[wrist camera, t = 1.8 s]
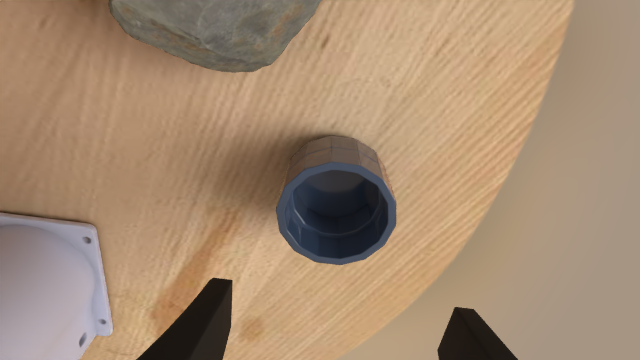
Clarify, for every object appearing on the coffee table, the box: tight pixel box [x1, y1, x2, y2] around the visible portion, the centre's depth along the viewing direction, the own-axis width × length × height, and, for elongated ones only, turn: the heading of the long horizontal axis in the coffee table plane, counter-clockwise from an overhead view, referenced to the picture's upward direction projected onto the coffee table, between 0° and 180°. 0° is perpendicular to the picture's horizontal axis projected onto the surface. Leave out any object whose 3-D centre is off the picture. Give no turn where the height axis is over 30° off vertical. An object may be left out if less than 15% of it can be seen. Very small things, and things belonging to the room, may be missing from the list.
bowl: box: [276, 136, 396, 265], centre depth 19 cm, size 6×6×4 cm
